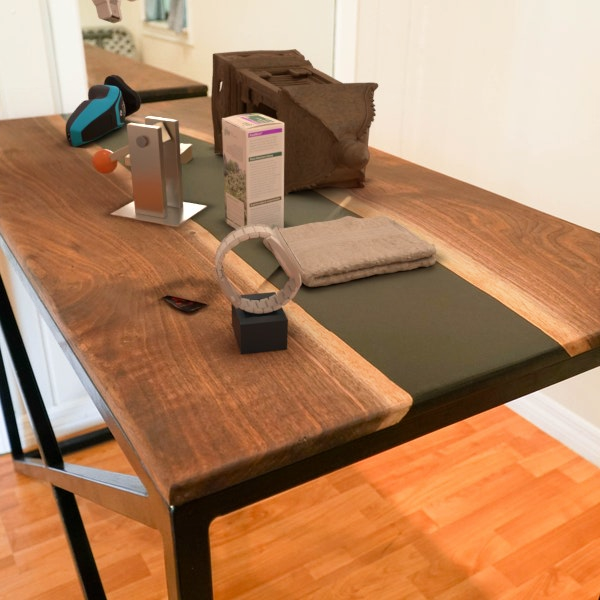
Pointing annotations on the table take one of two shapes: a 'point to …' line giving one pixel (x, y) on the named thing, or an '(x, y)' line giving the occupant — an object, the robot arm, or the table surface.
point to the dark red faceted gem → (183, 303)
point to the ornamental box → (298, 114)
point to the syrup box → (253, 170)
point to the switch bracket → (156, 175)
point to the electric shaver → (102, 111)
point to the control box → (185, 154)
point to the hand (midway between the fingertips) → (111, 20)
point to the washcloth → (355, 249)
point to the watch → (263, 306)
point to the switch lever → (117, 155)
